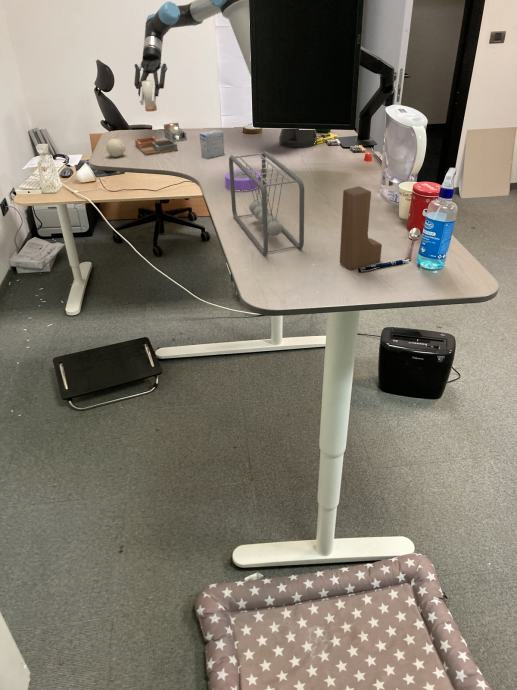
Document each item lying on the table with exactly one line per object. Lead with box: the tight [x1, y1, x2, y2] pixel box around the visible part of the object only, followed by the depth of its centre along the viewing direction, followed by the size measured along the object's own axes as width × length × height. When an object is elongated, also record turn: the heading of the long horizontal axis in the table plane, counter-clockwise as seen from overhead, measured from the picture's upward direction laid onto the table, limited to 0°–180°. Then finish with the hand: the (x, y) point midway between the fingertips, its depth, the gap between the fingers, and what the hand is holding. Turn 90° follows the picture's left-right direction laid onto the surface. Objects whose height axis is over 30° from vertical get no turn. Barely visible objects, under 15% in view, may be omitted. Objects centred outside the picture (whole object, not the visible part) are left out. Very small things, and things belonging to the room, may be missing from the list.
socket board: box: [134, 136, 178, 156], centre depth 220 cm, size 17×13×3 cm
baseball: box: [105, 138, 126, 158], centre depth 211 cm, size 7×7×7 cm
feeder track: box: [163, 122, 188, 143], centre depth 231 cm, size 11×6×5 cm, turn 24°
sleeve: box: [142, 79, 158, 112], centre depth 224 cm, size 5×5×11 cm
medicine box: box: [199, 129, 225, 160], centre depth 206 cm, size 8×4×9 cm, turn 128°
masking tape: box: [224, 169, 262, 192], centre depth 178 cm, size 12×12×4 cm
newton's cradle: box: [228, 150, 305, 256], centre depth 141 cm, size 30×10×18 cm, turn 18°
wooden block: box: [339, 186, 383, 271], centre depth 124 cm, size 9×4×18 cm, turn 119°
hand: (147, 102), depth 222 cm, fingers closed on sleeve, 4 cm apart
